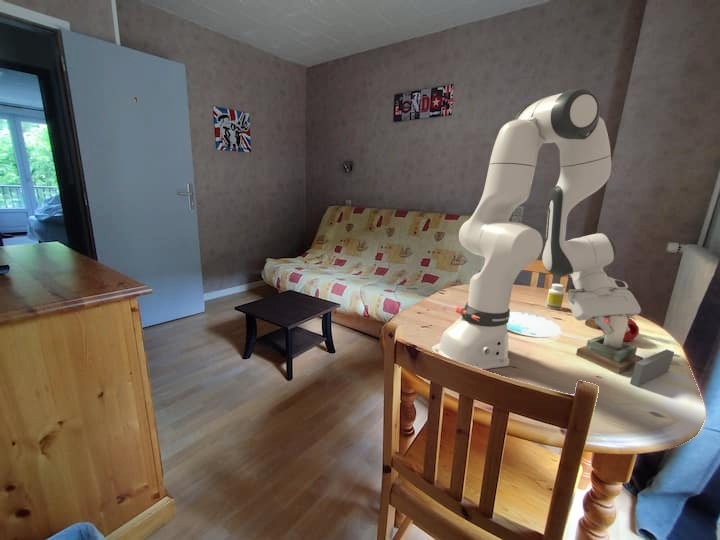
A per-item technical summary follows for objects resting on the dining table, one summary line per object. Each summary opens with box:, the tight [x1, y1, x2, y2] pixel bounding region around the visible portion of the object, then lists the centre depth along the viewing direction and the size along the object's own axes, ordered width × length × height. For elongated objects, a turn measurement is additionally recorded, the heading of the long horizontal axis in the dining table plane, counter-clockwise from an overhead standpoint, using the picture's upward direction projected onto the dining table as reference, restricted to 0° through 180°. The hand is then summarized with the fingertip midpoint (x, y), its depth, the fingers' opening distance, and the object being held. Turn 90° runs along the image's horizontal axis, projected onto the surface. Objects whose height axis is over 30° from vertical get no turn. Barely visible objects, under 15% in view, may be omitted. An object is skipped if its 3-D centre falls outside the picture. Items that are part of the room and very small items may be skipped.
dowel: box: [603, 315, 628, 351], centre depth 90 cm, size 4×4×10 cm
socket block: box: [575, 334, 644, 375], centre depth 92 cm, size 12×11×5 cm
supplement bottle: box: [545, 283, 565, 310], centre depth 130 cm, size 5×5×10 cm
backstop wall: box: [629, 349, 675, 387], centre depth 83 cm, size 16×2×6 cm, turn 116°
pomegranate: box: [601, 316, 640, 342], centre depth 105 cm, size 10×10×9 cm
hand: (617, 332), depth 89 cm, fingers closed on dowel, 4 cm apart
